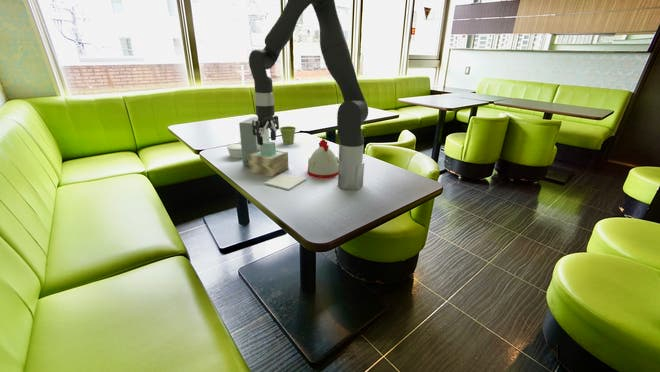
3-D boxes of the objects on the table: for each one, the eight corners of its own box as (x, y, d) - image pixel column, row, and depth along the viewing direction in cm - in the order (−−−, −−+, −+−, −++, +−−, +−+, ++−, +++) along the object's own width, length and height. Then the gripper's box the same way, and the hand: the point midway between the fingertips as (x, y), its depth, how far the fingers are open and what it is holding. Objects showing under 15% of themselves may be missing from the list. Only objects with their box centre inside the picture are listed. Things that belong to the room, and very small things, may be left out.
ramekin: (254, 153, 156) (253, 143, 154) (247, 159, 146) (245, 149, 144) (233, 152, 157) (232, 142, 155) (224, 158, 147) (223, 148, 145)
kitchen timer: (314, 180, 123) (314, 145, 117) (303, 169, 135) (302, 137, 129) (344, 175, 129) (345, 142, 123) (330, 165, 140) (331, 134, 134)
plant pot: (295, 145, 170) (295, 130, 166) (279, 145, 170) (278, 129, 166) (297, 140, 178) (296, 126, 175) (281, 140, 179) (280, 126, 175)
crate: (288, 169, 135) (287, 152, 131) (273, 177, 126) (272, 159, 123) (265, 164, 140) (264, 147, 137) (249, 171, 131) (248, 154, 128)
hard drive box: (258, 167, 137) (254, 123, 128) (242, 165, 138) (237, 122, 130) (270, 156, 151) (268, 117, 142) (256, 155, 152) (253, 116, 144)
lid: (284, 155, 131) (283, 141, 129) (271, 160, 124) (270, 146, 122) (265, 151, 136) (264, 138, 134) (252, 156, 129) (251, 143, 127)
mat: (306, 179, 124) (306, 178, 123) (289, 190, 114) (289, 188, 114) (282, 174, 129) (282, 173, 128) (264, 184, 119) (264, 182, 119)
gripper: (260, 107, 114) (263, 147, 121) (282, 102, 125) (284, 140, 132) (245, 105, 117) (248, 145, 124) (268, 100, 129) (270, 137, 135)
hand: (267, 142), depth 128 cm, fingers open, 8 cm apart
